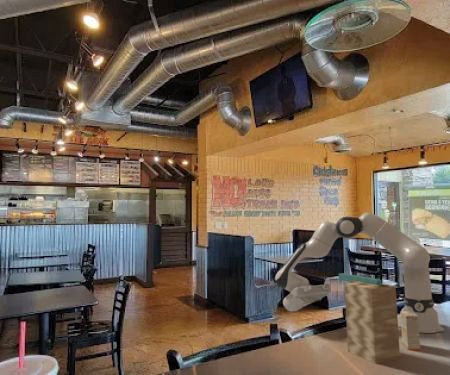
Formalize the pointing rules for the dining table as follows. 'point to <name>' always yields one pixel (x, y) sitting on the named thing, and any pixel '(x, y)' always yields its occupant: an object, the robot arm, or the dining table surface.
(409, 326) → the supplement box
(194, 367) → the dining table surface
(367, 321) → the birch post
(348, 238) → the robot arm
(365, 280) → the teal bar
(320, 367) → the dining table surface
